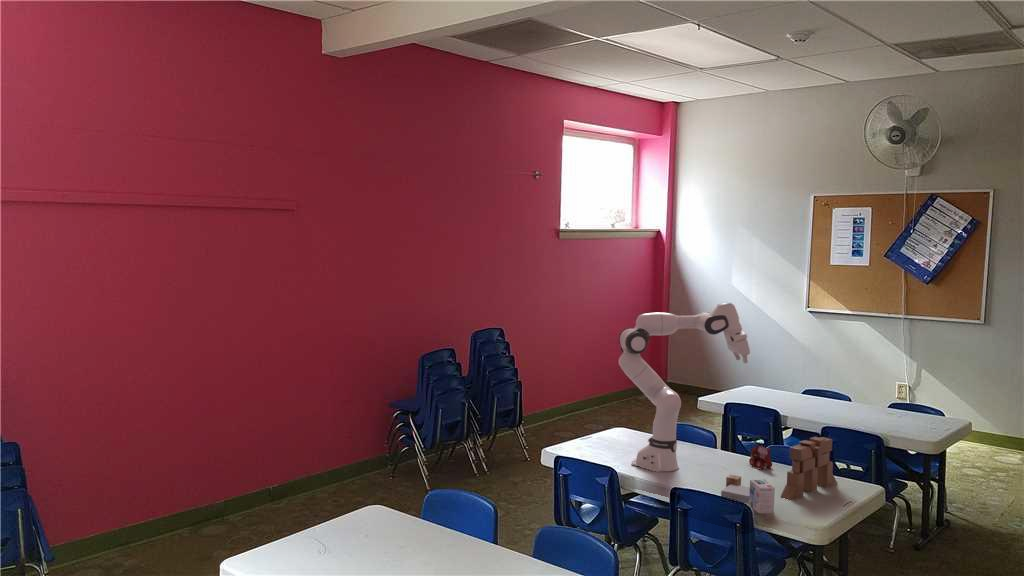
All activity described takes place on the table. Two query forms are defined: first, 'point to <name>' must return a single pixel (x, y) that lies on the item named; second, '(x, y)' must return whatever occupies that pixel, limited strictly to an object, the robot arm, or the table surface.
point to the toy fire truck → (760, 457)
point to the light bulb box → (761, 496)
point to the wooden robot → (809, 467)
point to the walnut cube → (733, 480)
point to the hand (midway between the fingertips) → (742, 361)
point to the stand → (736, 492)
